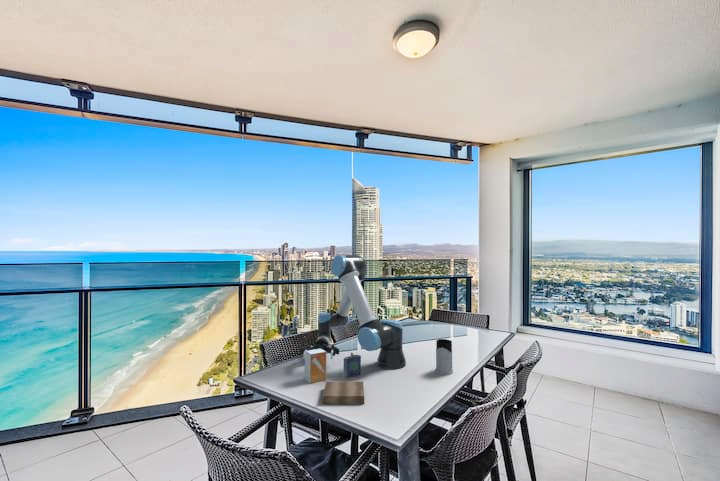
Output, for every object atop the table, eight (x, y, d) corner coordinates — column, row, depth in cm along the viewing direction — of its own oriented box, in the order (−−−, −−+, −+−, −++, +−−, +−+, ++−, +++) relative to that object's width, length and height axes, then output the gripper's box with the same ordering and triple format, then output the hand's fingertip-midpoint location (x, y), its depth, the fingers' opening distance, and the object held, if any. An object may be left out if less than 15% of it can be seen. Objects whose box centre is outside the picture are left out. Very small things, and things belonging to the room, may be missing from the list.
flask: (344, 378, 144) (345, 355, 145) (341, 376, 147) (342, 353, 147) (361, 374, 149) (361, 352, 149) (358, 372, 151) (358, 350, 152)
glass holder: (433, 372, 152) (433, 341, 153) (440, 364, 165) (439, 335, 166) (451, 375, 148) (451, 344, 149) (456, 366, 161) (456, 337, 162)
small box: (310, 383, 137) (310, 354, 138) (304, 379, 143) (304, 350, 144) (326, 380, 142) (326, 351, 143) (320, 375, 147) (320, 347, 148)
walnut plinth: (363, 388, 133) (363, 381, 133) (364, 404, 119) (364, 396, 119) (326, 388, 132) (326, 381, 133) (322, 403, 118) (322, 396, 119)
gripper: (344, 351, 174) (342, 364, 152) (300, 351, 173) (292, 364, 152) (344, 337, 174) (343, 348, 153) (300, 337, 174) (292, 348, 152)
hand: (317, 356), depth 152 cm, fingers open, 13 cm apart
